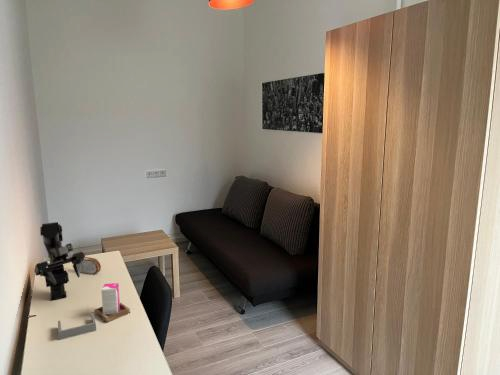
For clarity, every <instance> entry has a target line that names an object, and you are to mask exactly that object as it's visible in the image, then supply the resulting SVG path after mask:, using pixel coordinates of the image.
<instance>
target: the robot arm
mask: <svg viewBox="0 0 500 375" xmlns="http://www.w3.org/2000/svg"><path fill="white" fill-rule="evenodd" d="M39 229H40V231H39V232H40V236H41V237H42V239H43V245H44V247H45V250H46V252H47V254H48V255H47V257H48V259H49V263H48V261H46V260H45V261H42V262H38V263H36V265H35V268H34V275H35V276H39V277H44V278H45V279H44V281H45V286H46V288H49V290H50V295H49V296H50V297H49V300H50V301H55V300H60V299H64V298H67V297H68V296H67V295H68V294H67V291H66V288H65V284H68V283H69V282H70V278H69V273H68V272H67V270H66V269H65V268H64V266H65V264H69V263H71V264H72V267H73V269H74V272H75V275H76V276H77V278H80V277H81V272H80V269H79V266H80V264H81V262H82V261H83V259H84V257H86V255H85V252H83V251H78V252H75V253H73V254H72V256H71V257H69V254H70V252H73V251H74V247H73V246H74V245H72V243H71V242H70V243H67V244H65V246H63V245H62V242H63V240H64V239H63V238H64V237H63V226H62V225H61V224H60V223H59V222H57V221H55V222H46V223H42V224H41V226H40V228H39Z"/></svg>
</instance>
